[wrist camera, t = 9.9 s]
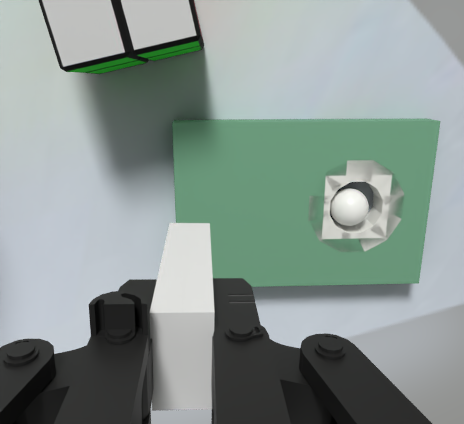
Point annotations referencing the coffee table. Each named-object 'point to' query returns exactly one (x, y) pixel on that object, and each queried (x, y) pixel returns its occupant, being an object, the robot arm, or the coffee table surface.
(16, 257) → the coffee table surface
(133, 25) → the puzzle cube
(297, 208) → the mat
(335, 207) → the ball
